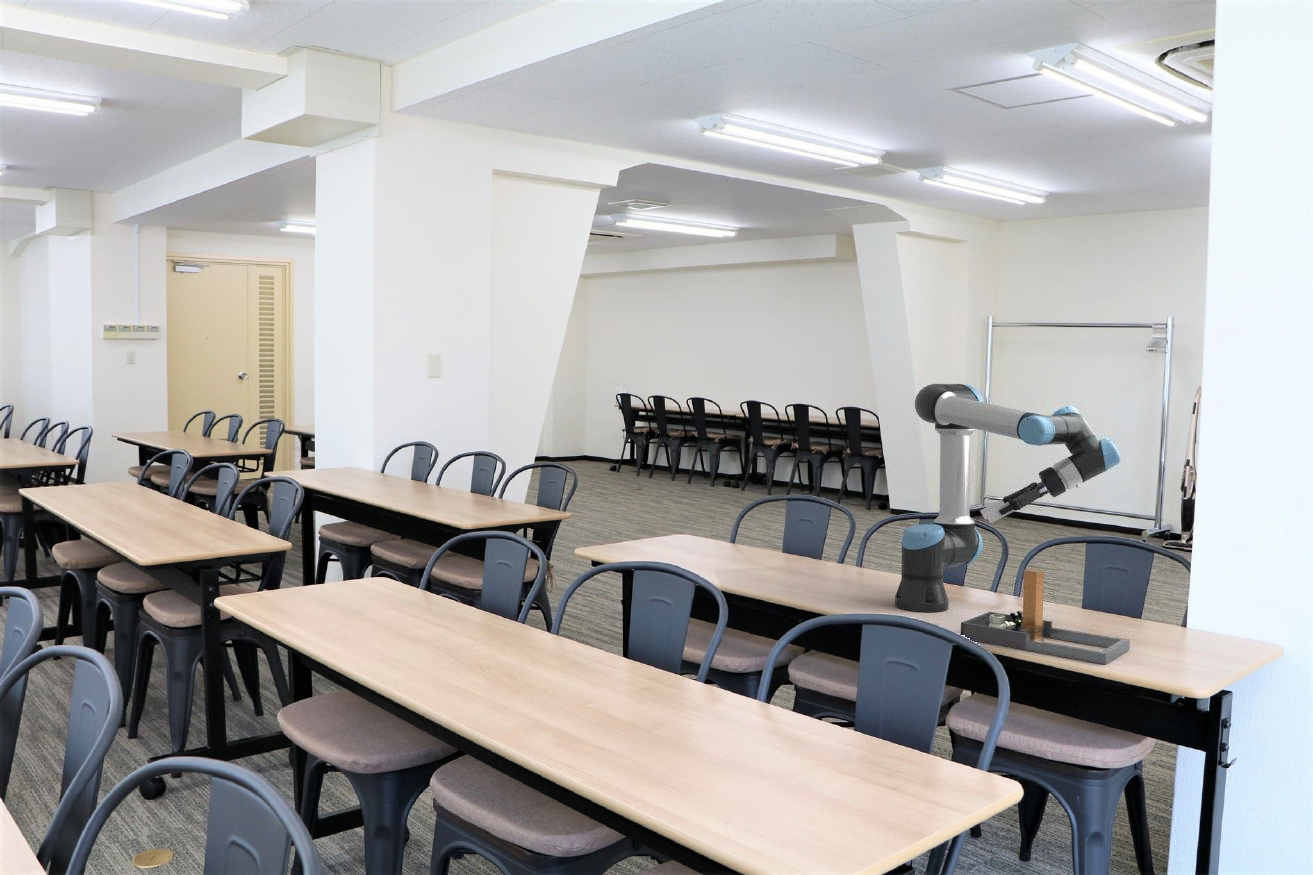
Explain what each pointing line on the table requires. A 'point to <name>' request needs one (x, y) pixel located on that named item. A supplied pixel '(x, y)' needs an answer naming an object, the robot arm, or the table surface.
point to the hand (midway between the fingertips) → (984, 516)
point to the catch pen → (997, 631)
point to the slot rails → (1112, 651)
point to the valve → (1011, 624)
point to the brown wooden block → (1033, 604)
